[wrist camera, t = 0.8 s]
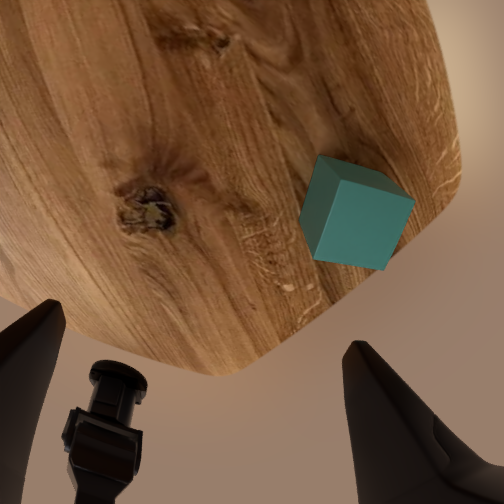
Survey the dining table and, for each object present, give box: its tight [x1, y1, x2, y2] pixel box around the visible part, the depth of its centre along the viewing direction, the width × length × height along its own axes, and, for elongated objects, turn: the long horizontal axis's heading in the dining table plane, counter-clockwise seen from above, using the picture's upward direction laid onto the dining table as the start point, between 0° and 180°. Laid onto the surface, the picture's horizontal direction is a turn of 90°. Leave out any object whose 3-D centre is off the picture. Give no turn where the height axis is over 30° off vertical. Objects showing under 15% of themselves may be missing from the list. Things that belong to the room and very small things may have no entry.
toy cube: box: [299, 155, 415, 270], centre depth 19 cm, size 5×5×5 cm
